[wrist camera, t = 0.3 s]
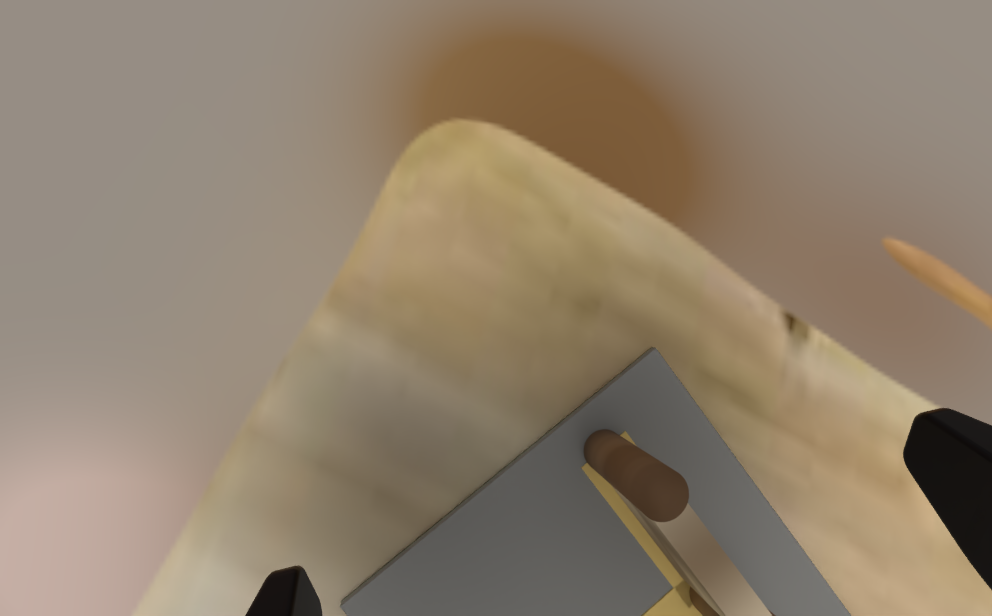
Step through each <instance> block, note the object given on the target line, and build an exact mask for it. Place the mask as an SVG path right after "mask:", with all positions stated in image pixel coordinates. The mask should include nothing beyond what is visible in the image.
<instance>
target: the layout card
mask: <svg viewBox="0 0 992 616" xmlns="http://www.w3.org/2000/svg"><path fill="white" fill-rule="evenodd" d="M601 429H608V430H611V431H614V432H615V433H617V434H618V435H620V436H622V437H623V438H625V439H626V440H628V441H629V442H631V443H633V444H634V445H636V446H637V447H639V448H640V449H642V450H644V451H645V452H647V453H648V454H650V455H651V456H653V457H654V458H656V459H658V460H659V461H661V462H662V463H664V464H665V465H667V466H669V467H670V468H672V469H673V470H675V471H676V472H678V473H679V474H681V475H682V476H683V478H684V479H685V480H686V482H687V485H688V489H689V499H688V504H689V505H690V506H691V508H692V509H693V510H694V512H695V513H696V514H697V516H698V517H699V518H700V520H701V521H702V522H703V524H704V525H705V526H706V528H707V529H708V530H709V532H710V533H711V534H712V536H713V537H714V538H715V540H716V541H717V542H718V544H719V545H720V546H721V548H722V549H723V550H724V552H725V553H726V554H727V556H728V557H729V558H730V560H731V561H732V562H733V564H734V565H735V566H736V568H737V569H738V570H739V572H740V573H741V574H742V576H743V577H744V578H745V580H746V581H747V582H748V584H749V585H750V587H751V588H752V589H753V591H754V592H755V593H756V595H757V596H758V597H759V599H760V600H761V601H762V603H763V604H764V605H765V607H766V608H767V609H768V610H770V611H771V612H772V613H773V614H774V615H776V616H851V615H850V613H849V612H848V611H847V609H846V608H845V606H844V605H843V604H842V602H841V601H840V600H839V598H838V597H837V596H836V594H835V593H834V591H833V590H832V589H831V587H830V586H829V585H828V583H827V582H826V580H825V579H824V578H823V576H822V575H821V574H820V572H819V571H818V570H817V568H816V567H815V565H814V564H813V563H812V561H811V560H810V559H809V557H808V556H807V554H806V553H805V552H804V550H803V549H802V548H801V546H800V545H799V543H798V542H797V541H796V539H795V538H794V537H793V535H792V534H791V533H790V531H789V530H788V528H787V527H786V526H785V524H784V523H783V522H782V520H781V519H780V517H779V516H778V515H777V513H776V512H775V511H774V509H773V508H772V506H771V505H770V504H769V502H768V501H767V500H766V498H765V497H764V496H763V494H762V493H761V491H760V490H759V489H758V487H757V486H756V485H755V483H754V482H753V480H752V479H751V478H750V476H749V475H748V474H747V472H746V471H745V469H744V468H743V467H742V465H741V464H740V463H739V461H738V460H737V459H736V457H735V456H734V454H733V453H732V452H731V450H730V449H729V448H728V446H727V445H726V443H725V442H724V441H723V439H722V438H721V437H720V435H719V434H718V432H717V431H716V430H715V428H714V427H713V426H712V424H711V423H710V422H709V420H708V419H707V417H706V416H705V415H704V413H703V412H702V411H701V409H700V408H699V406H698V405H697V404H696V402H695V401H694V400H693V398H692V397H691V395H690V394H689V393H688V391H687V390H686V389H685V387H684V386H683V385H682V383H681V382H680V380H679V379H678V378H677V376H676V375H675V374H674V372H673V371H672V369H671V368H670V367H669V365H668V364H667V363H666V361H665V360H664V358H663V357H662V356H661V354H660V353H659V352H658V350H657V349H656V348H650V349H649V350H648V351H647V352H646V353H644V354H643V355H642V356H641V357H639V358H638V359H637V360H636V361H635V362H633V363H632V364H631V365H630V366H628V367H627V368H626V369H625V370H624V371H622V372H621V373H620V374H619V375H617V376H616V377H615V378H614V379H613V380H611V381H610V382H609V383H608V384H606V385H605V386H604V387H603V388H602V389H600V390H599V391H598V392H597V393H595V394H594V395H593V396H592V397H591V398H589V399H588V400H587V401H586V402H584V403H583V404H582V405H581V406H580V407H578V408H577V409H576V410H575V411H573V412H572V413H571V414H570V415H569V416H567V417H566V418H565V419H564V420H562V421H561V422H560V423H559V424H558V425H556V426H555V427H554V428H553V429H551V430H550V431H549V432H548V433H547V434H545V435H544V436H543V437H542V438H540V439H539V440H538V441H537V442H536V443H534V444H533V445H532V446H531V447H529V448H528V449H527V450H526V451H525V452H523V453H522V454H521V455H520V456H518V457H517V458H516V459H515V460H514V461H512V462H511V463H510V464H509V465H507V466H506V467H505V468H504V469H503V470H501V471H500V472H499V473H498V474H496V475H495V476H494V477H493V478H492V479H490V480H489V481H488V482H487V483H485V484H484V485H483V486H482V487H481V488H479V489H478V490H477V491H476V492H474V493H473V494H472V495H471V496H470V497H468V498H467V499H466V500H465V501H463V502H462V503H461V504H460V505H459V506H457V507H456V508H455V509H454V510H452V511H451V512H450V513H449V514H448V515H446V516H445V517H444V518H443V519H441V520H440V521H439V522H438V523H437V524H435V525H434V526H433V527H432V528H430V529H429V530H428V531H427V532H426V533H424V534H423V535H422V536H421V537H419V538H418V539H417V540H416V541H415V542H413V543H412V544H411V545H410V546H408V547H407V548H406V549H405V550H404V551H402V552H401V553H400V554H399V555H397V556H396V557H395V558H394V559H393V560H391V561H390V562H389V563H388V564H386V565H385V566H384V567H383V568H382V569H380V570H379V571H378V572H377V573H375V574H374V575H373V576H372V577H371V578H369V579H368V580H367V581H366V582H364V583H363V584H362V585H361V586H360V587H358V588H357V589H356V590H355V591H353V592H352V593H351V594H350V595H349V596H347V597H346V598H345V599H344V600H342V601H341V605H340V607H341V609H342V610H343V611H344V612H345V613H346V614H347V616H703V615H702V614H701V613H700V612H699V611H698V610H697V609H696V608H695V607H694V605H693V604H692V602H691V599H690V594H689V591H690V585H689V584H688V583H687V582H686V581H685V580H684V579H683V578H682V577H681V576H680V575H679V573H678V572H677V571H676V569H675V568H674V567H673V565H672V564H671V563H670V561H669V560H668V559H667V558H666V556H665V555H664V554H663V552H662V551H661V550H660V548H659V547H658V546H657V545H656V543H655V542H654V541H653V539H652V538H651V537H650V535H649V534H648V533H647V531H646V530H645V529H644V528H643V526H642V525H641V524H640V522H639V521H638V520H637V518H636V517H635V516H634V514H633V513H632V512H631V511H630V509H629V508H628V507H627V505H626V504H625V503H624V501H623V500H622V499H621V497H620V496H619V495H618V494H617V492H616V491H615V490H614V488H613V487H612V486H611V484H610V483H609V482H607V481H606V480H605V479H604V478H603V477H602V476H601V475H600V474H598V473H597V472H596V471H595V470H594V469H593V468H592V467H591V466H590V465H589V464H588V463H587V462H586V460H585V457H584V445H585V442H586V440H587V439H588V437H589V436H590V435H591V434H592V433H594V432H595V431H598V430H601Z"/></svg>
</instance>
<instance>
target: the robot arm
mask: <svg viewBox="0 0 992 616" xmlns="http://www.w3.org/2000/svg"><path fill="white" fill-rule="evenodd" d="M903 457H904V462H905V464H906V466H907V468H908V470H909V472H910V473H911V475H912V476H913V478H914V479H915V481H916V482H917V484H918V485H919V487H920V488H921V490H922V491H923V493H924V494H925V496H926V497H927V499H928V500H929V502H930V503H931V505H932V506H933V508H934V509H935V511H936V513H937V514H938V516H939V517H940V519H941V520H942V522H943V523H944V525H945V526H946V528H947V529H948V531H949V532H950V534H951V535H952V537H953V538H954V540H955V541H956V543H957V544H958V546H959V547H960V549H961V550H962V552H963V553H964V554H965V556H966V557H967V559H968V560H969V562H970V563H971V564H972V566H973V567H974V568H975V569H976V571H977V572H978V573H979V575H980V576H981V577H982V579H983V580H984V581H985V582H986V584H987V585H988V586H989V587H990V589H991V590H992V426H991V425H989V424H987V423H984V422H982V421H979V420H977V419H974V418H972V417H969V416H967V415H964V414H962V413H960V412H957V411H954V410H951V409H948V408H939V409H935V410H931V411H927V412H923V413H920V414H918V415H917V416H916V417H915V418H914V420H913V423H912V426H911V429H910V432H909V435H908V438H907V441H906V444H905V447H904V451H903ZM245 616H322V609H321V604H320V600H319V598H318V596H317V594H316V592H315V590H314V588H313V586H312V584H311V582H310V580H309V578H308V576H307V574H306V572H305V570H304V569H303V568H302V567H301V566H292V567H288V568H284V569H280V570H276V571H274V572H272V573H271V574H270V575H269V576H268V577H267V578H266V580H265V581H264V583H263V585H262V587H261V589H260V590H259V592H258V594H257V596H256V597H255V599H254V601H253V603H252V605H251V606H250V608H249V610H248V612H247V614H246V615H245Z"/></svg>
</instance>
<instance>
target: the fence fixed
mask: <svg viewBox="0 0 992 616" xmlns="http://www.w3.org/2000/svg"><path fill="white" fill-rule="evenodd" d="M584 457H585V460H586V462H587V463H588V464H589V465H590V466H591V467H592V468H593V469H594V470H595V471H596V472H597V473H598V474H600V475H601V476H602V477H603V478H604V479H605V480H606V481H607V482H609V483H610V484H611V486H612V487H613V488H614V490H615V491H616V492H617V494H618V495H619V496H620V497H621V499H622V500H623V501H624V503H625V504H626V505H627V507H628V508H629V509H630V511H631V512H632V513H633V514H634V516H635V517H636V518H637V520H638V521H639V522H640V524H641V525H642V526H643V528H644V529H645V530H646V531H647V533H648V534H649V535H650V537H651V538H652V539H653V541H654V542H655V543H656V545H657V546H658V547H659V548H660V550H661V551H662V552H663V554H664V555H665V556H666V558H667V559H668V560H669V561H670V563H671V564H672V565H673V567H674V568H675V569H676V571H677V572H678V573H679V575H680V576H681V577H682V578H683V579H684V580H685V581H686V582H687V583H688V584H689V585H690V591H689V594H690V599H691V602H692V604H693V605H694V607H695V608H696V609H697V610H698V611H699V612H700V613H701V614H702V615H703V616H776V615H774V614H773V613H772V612H771V611H770V610H768V609H767V608H766V607H765V605H764V604H763V603H762V601H761V600H760V599H759V597H758V596H757V595H756V593H755V592H754V591H753V589H752V588H751V587H750V585H749V584H748V582H747V581H746V580H745V578H744V577H743V576H742V574H741V573H740V572H739V570H738V569H737V568H736V566H735V565H734V564H733V562H732V561H731V560H730V558H729V557H728V556H727V554H726V553H725V552H724V550H723V549H722V548H721V546H720V545H719V544H718V542H717V541H716V540H715V538H714V537H713V536H712V534H711V533H710V532H709V530H708V529H707V528H706V526H705V525H704V524H703V522H702V521H701V520H700V518H699V517H698V516H697V514H696V513H695V512H694V510H693V509H692V508H691V506H690V505H689V504H688V499H689V489H688V485H687V482H686V480H685V479H684V478H683V476H682V475H681V474H679V473H678V472H676V471H675V470H673V469H672V468H670V467H669V466H667V465H665V464H664V463H662V462H661V461H659V460H658V459H656V458H654V457H653V456H651V455H650V454H648V453H647V452H645V451H644V450H642V449H640V448H639V447H637V446H636V445H634V444H633V443H631V442H629V441H628V440H626V439H625V438H623V437H622V436H620V435H618V434H617V433H615V432H614V431H611V430H608V429H601V430H598V431H595V432H594V433H592V434H591V435H590V436H589V437H588V439H587V440H586V442H585V445H584Z"/></svg>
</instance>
